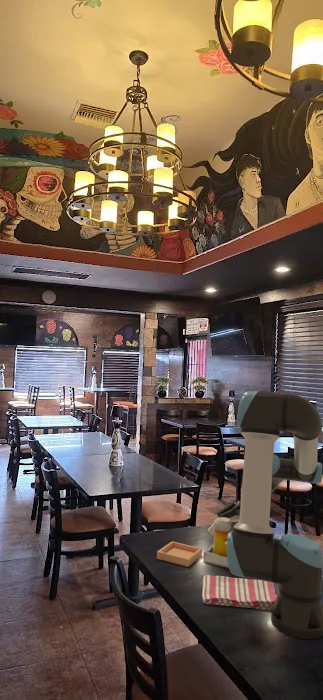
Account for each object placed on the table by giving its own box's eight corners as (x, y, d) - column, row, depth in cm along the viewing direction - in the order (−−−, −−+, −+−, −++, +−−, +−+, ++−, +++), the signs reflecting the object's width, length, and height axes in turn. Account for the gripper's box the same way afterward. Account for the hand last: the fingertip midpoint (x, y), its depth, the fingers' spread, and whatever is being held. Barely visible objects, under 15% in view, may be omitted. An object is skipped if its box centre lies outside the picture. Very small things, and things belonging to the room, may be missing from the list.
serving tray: (188, 566, 169) (188, 559, 169) (156, 558, 175) (157, 551, 175) (201, 555, 180) (202, 548, 180) (171, 547, 186) (172, 541, 186)
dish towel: (281, 613, 141) (281, 601, 141) (202, 605, 143) (202, 594, 143) (272, 587, 158) (273, 576, 158) (201, 580, 160) (202, 570, 160)
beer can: (230, 564, 174) (232, 522, 174) (213, 563, 174) (215, 521, 174) (228, 557, 180) (230, 517, 180) (212, 556, 180) (214, 516, 180)
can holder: (229, 568, 170) (229, 558, 170) (203, 561, 174) (203, 552, 175) (238, 559, 179) (238, 549, 179) (213, 552, 183) (213, 543, 183)
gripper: (280, 512, 172) (242, 559, 166) (243, 494, 195) (208, 534, 189) (268, 498, 170) (229, 545, 164) (233, 481, 193) (197, 521, 187)
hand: (218, 539), depth 177 cm, fingers open, 13 cm apart
